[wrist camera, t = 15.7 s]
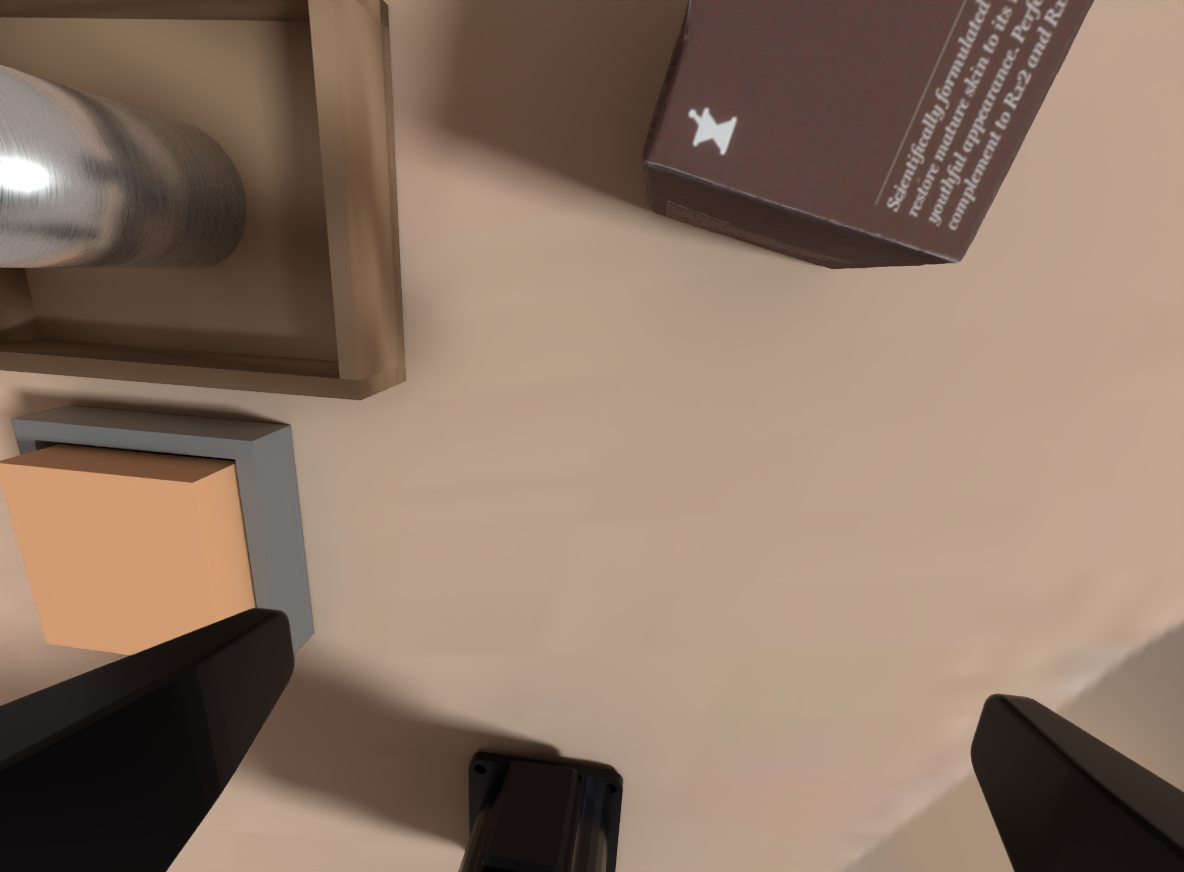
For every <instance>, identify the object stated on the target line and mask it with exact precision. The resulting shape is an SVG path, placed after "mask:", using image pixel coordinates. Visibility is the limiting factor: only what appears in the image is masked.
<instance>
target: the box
mask: <svg viewBox="0 0 1184 872" xmlns="http://www.w3.org/2000/svg"><path fill="white" fill-rule="evenodd" d="M1093 2H1094V0H689V2H688V5H687V9H686V13H685V16H684V20H683V23H682V26H681V29H680V33H679V36H678V39H677V42H676V45H675V48H674V51H673V54H672V58H671V62H670V65H669V68H668V71H667V74H666V77H665V80H664V83H663V87H662V90H661V94H660V97H659V100H658V103H657V106H656V108H655V111H654V114H653V118H652V122H651V125H650V129H649V132H648V135H647V139H646V142H645V145H644V149H643V162H644V164H645V174H646V181H647V190H648V196H649V200H650V208H651V209H652V210H653V211H654V212H656V213H658V214H662V215H665V216H668V217H671V218H674V219H678V220H681V221H684V222H687V223H690V224H693V225H696V226H699V227H702V228H705V229H708V230H711V231H715V232H718V233H721V234H724V235H727V236H730V237H733V238H737V239H740V240H743V241H746V242H749V243H752V244H755V245H758V246H761V247H764V248H768V249H771V250H774V251H777V252H780V253H783V254H786V255H790V256H793V257H796V258H799V259H802V260H805V261H808V262H812V263H815V264H818V265H822V266H825V267H828V268H831V269H842V268H870V267H888V266H921V265H924V264H945V263H958V262H960V261H961V260H962V259H963V257H964V256H965V254H966V252H967V249H968V248H969V246H970V244H971V243H972V241H973V239H974V237H975V235H976V233H977V231H978V229H979V227H980V225H981V223H982V221H983V219H984V217H985V215H986V213H987V211H988V209H989V208H990V206H991V204H992V202H993V200H994V198H995V196H996V195H997V192H998V190H999V188H1000V186H1001V184H1002V182H1003V180H1004V179H1005V177H1006V175H1007V173H1008V171H1009V169H1010V167H1011V165H1012V163H1013V161H1014V159H1015V157H1016V155H1017V153H1018V151H1019V149H1020V147H1021V145H1022V143H1023V141H1024V139H1025V136H1026V134H1027V132H1028V131H1029V129H1030V127H1031V125H1032V123H1033V121H1034V119H1035V117H1036V115H1037V113H1038V111H1039V109H1040V107H1041V105H1042V103H1043V101H1044V99H1045V97H1046V95H1047V93H1048V91H1049V89H1050V87H1051V85H1052V83H1053V81H1054V79H1055V77H1056V75H1057V73H1058V72H1059V70H1060V68H1061V66H1062V64H1063V62H1064V60H1065V58H1066V56H1067V54H1068V52H1069V49H1070V47H1071V45H1072V43H1073V41H1074V39H1075V37H1076V35H1077V33H1078V31H1079V29H1080V27H1081V25H1082V23H1083V21H1084V19H1085V17H1086V15H1087V12H1088V11H1089V9H1090V7H1091V5H1092V4H1093Z"/></svg>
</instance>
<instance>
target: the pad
mask: <svg viewBox="0 0 1184 872" xmlns="http://www.w3.org/2000/svg"><path fill="white" fill-rule="evenodd" d="M0 483H1V486H2V490H3V493H4V497H5V500H6V503H7V507H8V510H9V514H10V517H11V521H12V524H13V528H14V531H15V535H16V538H17V542H18V545H19V549H20V552H21V556H22V559H23V563H24V566H25V570H26V573H27V577H28V580H29V584H30V587H31V591H32V594H33V598H34V601H35V605H36V608H37V612H38V615H39V619H40V622H41V626H42V629H43V633H44V636H45V640H46V643H47V644H53V645H60V646H67V647H75V648H82V649H89V650H96V651H104V652H111V653H118V654H125V655H133V654H135V653H138V652H140V651H143V650H146V649H148V648H151V647H153V646H156V645H158V644H161V643H164V642H166V641H169V640H171V639H174V638H176V637H179V636H182V635H184V634H187V633H189V632H192V631H194V630H197V629H200V628H202V627H205V626H207V625H210V624H212V623H215V622H218V621H220V620H223V619H225V618H228V617H230V616H233V615H236V614H238V613H241V612H243V611H246V610H248V609H251V608H257V604H256V598H255V591H254V584H253V577H252V570H251V564H250V557H249V550H248V543H247V537H246V530H245V523H244V516H243V509H242V503H241V496H240V489H239V482H238V476H237V469H236V462H235V461H227V460H217V459H206V458H196V457H186V456H176V455H165V454H155V453H145V452H135V451H124V450H114V449H104V448H94V447H84V446H73V445H63V444H58V445H54V446H51V447H47V448H44V449H40V450H37V451H33V452H30V453H26V454H23V455H20V456H16V457H13V458H9V459H6V460H2V461H0Z"/></svg>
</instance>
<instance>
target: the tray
mask: <svg viewBox="0 0 1184 872" xmlns="http://www.w3.org/2000/svg"><path fill="white" fill-rule="evenodd" d="M0 65H3V66H6V67H9V68H13V69H16V70H19V71H22V72H25V73H29V74H32V75H35V76H38V77H41V78H44V79H48V80H51V81H54V82H57V83H60V84H64V85H67V86H70V87H73V88H76V89H79V90H83V91H86V92H89V93H92V94H95V95H99V96H102V97H105V98H108V99H111V100H114V101H118V102H121V103H124V104H127V105H130V106H134V107H137V108H140V109H143V110H146V111H149V112H153V113H156V114H159V115H162V116H165V117H169V118H172V119H175V120H178V121H181V122H184V123H188V124H190V125H192V126H195V127H197V128H199V129H200V130H202V131H204V132H205V133H207V134H208V135H209V136H210V137H212V138H213V139H214V140H215V141H216V142H217V143H218V144H219V145H220V146H221V147H222V148H223V149H224V151H225V152H226V153H227V154H228V156H229V157H230V159H231V160H232V162H233V164H234V166H235V168H236V169H237V171H238V174H239V176H240V179H241V181H242V185H243V188H244V193H245V198H246V210H247V211H246V223H245V228H244V232H243V235H242V238H241V240H240V242H239V244H238V245H237V247H236V248H235V250H234V251H233V252H232V253H231V254H230V256H229V257H227V258H226V259H225V260H224V261H222V262H220V263H218V264H217V265H214V266H211V267H208V268H202V269H161V268H8V267H0V370H6V371H18V372H30V373H42V374H54V375H66V376H78V377H90V378H102V379H113V380H125V381H137V382H149V383H161V384H173V385H185V386H197V387H209V388H221V389H233V390H244V391H256V392H268V393H280V394H292V395H304V396H316V397H328V398H340V399H352V400H362V399H365V398H367V397H369V396H372V395H374V394H376V393H379V392H381V391H383V390H386V389H388V388H390V387H393V386H395V385H397V384H400V383H402V382H404V381H406V376H405V355H404V334H403V313H402V292H401V271H400V250H399V229H398V208H397V187H396V166H395V145H394V124H393V103H392V82H391V60H390V39H389V18H388V5H387V4H386V3H385V2H384V1H383V0H0Z"/></svg>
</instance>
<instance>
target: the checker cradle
mask: <svg viewBox="0 0 1184 872" xmlns="http://www.w3.org/2000/svg"><path fill="white" fill-rule="evenodd" d="M11 421H12V425H13V429H14V432H15V436H16V440H17V443H18V447H19V451H20V455H23V454H26V453H30V452H33V451H37V450H40V449H44V448H47V447H51V446H54V445H58V444H63V445H73V446H84V447H94V448H96V447H95V446H103V447H114V448H124V449H134V450H144V451H155V452H165V453H175V454H185V455H196V456H206V457H216V458H226V459H235V462H236V469H237V476H238V482H239V489H240V496H241V503H242V509H243V516H244V523H245V530H246V537H247V543H248V550H249V557H250V564H251V570H252V577H253V584H254V591H255V598H256V604H257V608H267V609H276V610H281V611H283V612H285V613H286V614H287V616H288V618H289V622H290V629H291V637H292V644H293V651H294V654H295V653H296V652H297V651H298V650H299V649H300V648H301V647H302V646H303V645H304V644H305V642H306V641H307V640H308V639H309V638H310V637H311V636H312V635H313V634H314V627H313V618H312V609H311V601H310V592H309V583H308V574H307V565H306V556H305V548H304V539H303V530H302V521H301V512H300V504H299V495H298V486H297V477H296V468H295V460H294V451H293V442H292V433H291V425H283V424H272V423H261V422H249V421H238V420H227V419H216V418H205V417H194V416H183V415H172V414H160V413H149V412H138V411H127V410H116V409H105V408H94V407H82V406H71V405H69V406H65V407H61V408H56V409H52V410H47V411H43V412H39V413H34V414H30V415H25V416H21V417H17V418H12V419H11Z"/></svg>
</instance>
